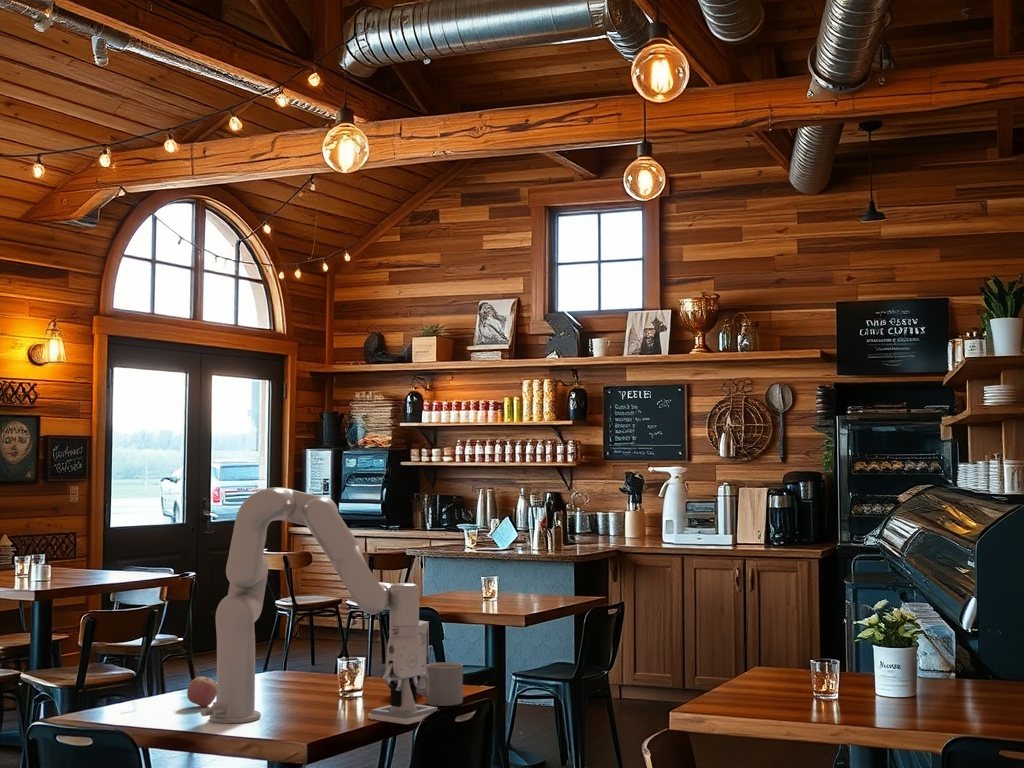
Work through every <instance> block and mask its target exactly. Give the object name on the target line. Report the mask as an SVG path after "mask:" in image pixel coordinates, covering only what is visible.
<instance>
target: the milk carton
mask: <svg viewBox="0 0 1024 768" xmlns="http://www.w3.org/2000/svg"><path fill="white" fill-rule="evenodd" d="M429 623H430V621H425V620H420V619H419V636H420V637H421V642H422V649H423V670H424V672H426V665H427V664H430V662H429V655H430V654H429V653H430V649H429V647H430V646H429V645H430V643H429V638H430V637H429V635H430V634H429V633H430V631H429V625H430V624H429ZM397 678H398V677H397ZM411 679H412V678H411ZM395 683H397V680H395ZM419 687H420V689H421V690H424V689H425V687H426V679H425V678H422V679H421V680H420V682H419Z"/></svg>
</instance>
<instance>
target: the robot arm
mask: <svg viewBox="0 0 1024 768" xmlns="http://www.w3.org/2000/svg"><path fill="white" fill-rule="evenodd" d="M273 521H274V522H275V521H285V522H289V523H294V524H298V525H303V526H306V527H307V528H308V530H309V531H310V533H311V535H312V536H313V538H314V539H315V540H316V542H317V543H318V545H319V546H320V548H321V549H322V551H323V552H324V554H325V556H326V558H327V559H328V560H329V562H330V563H331V565H332V567H333V569H334V571H335V572H336V574H337V575H338V577H339V578H340V580H341V582H342V583H343V585H344V587H345V588H346V590H347V592H348V593H349V594H350V596H351V597H352V599H353V601H354V602H355V603H356V605H357V606H358V608H359V609H360V610H361V611H362V612H363V613H365V614H366V615H367V614H369V615H377V614H379V613H382V611H385V610H389V630H388V634H389V638H388V642H387V647H386V656H385V671H384V675H383V676H382V680H383V682H385V684H386V685H387V686H388V690H390V705H391V706H397V707H400V706H401V704H402V691H401V690H400V686H401V681H402V679H406V678H409V683H410V689H411V692H412V695H413V698H414V701H415V704H416V703H417V695H418V693H417V687H418V682H419V680H420V678H421V676H422V675H423V673H424V670H423V649H422V642H421V637H420V636H419V620H420V588H419V586H418V585H417V584H416V583H412V582H402V583H401V582H399V583H389V582H388V583H387V582H381V581H378V580H377V578H376V577H375V575H374V573H373V572H372V570H371V569H370V568H369V566H368V564H367V562H366V560H365V558H364V556H363V553H362V548H361V546H360V544H359V542H358V540H357V538H356V537H355V536H354V534H353V533H352V531H351V530H350V528H349V527H348V525H347V524H346V523H345V521H344V520H343V518H342V516H341V515H340V513H339V509H338V506H337V504H336V503H335V501H333V499H331V498H329V497H326V496H321V495H318V494H317V495H315V494H312V493H307V492H302V491H299V490H295V489H291V488H286V487H281V486H280V487H275V486H274V487H267V488H264V489H261V490H259V491H256V492H254V493H252V494H251V495H249V496H248V497H247V498H246V499H245V500H244V501H243V502H242V504H241V506H240V507H239V508H238V512H237V514H236V517H235V521H234V525H233V531H232V532H233V533H232V537H231V541H230V545H229V553H228V557H227V562H226V567H225V575H226V578H227V580H228V581H229V586H228V592H227V595H226V596H224V598H223V597H222V599H221V601H219V603H218V606H217V608H216V610H215V611H216V612H215V630H216V684H217V690H216V697H215V699H216V701H215V702H212V705H211V706H210V707H203V708H202V709H201V710H200V715H201V717H208V716H209V720H210V721H211V722H214V723H219V724H238V723H239V724H240V723H247V722H248V723H249V722H253V721H256V720H260V718H261V712H260V711H257V710H255V709H256V708H255V705H256V703H255V701H256V700H255V699H256V696H255V695H256V694H255V693H256V633H255V622H257V620H259V618H260V617H261V613H262V611H263V606H264V599H265V592H266V588H267V587H266V586H267V580H268V575H269V563H268V560H267V558H266V556H265V554H264V551H265V545H266V541H267V532H268V531H267V530H268V527H269V525H270V523H271V522H273ZM397 677H398V678H397ZM411 678H412V679H411ZM396 680H397V683H396Z"/></svg>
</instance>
